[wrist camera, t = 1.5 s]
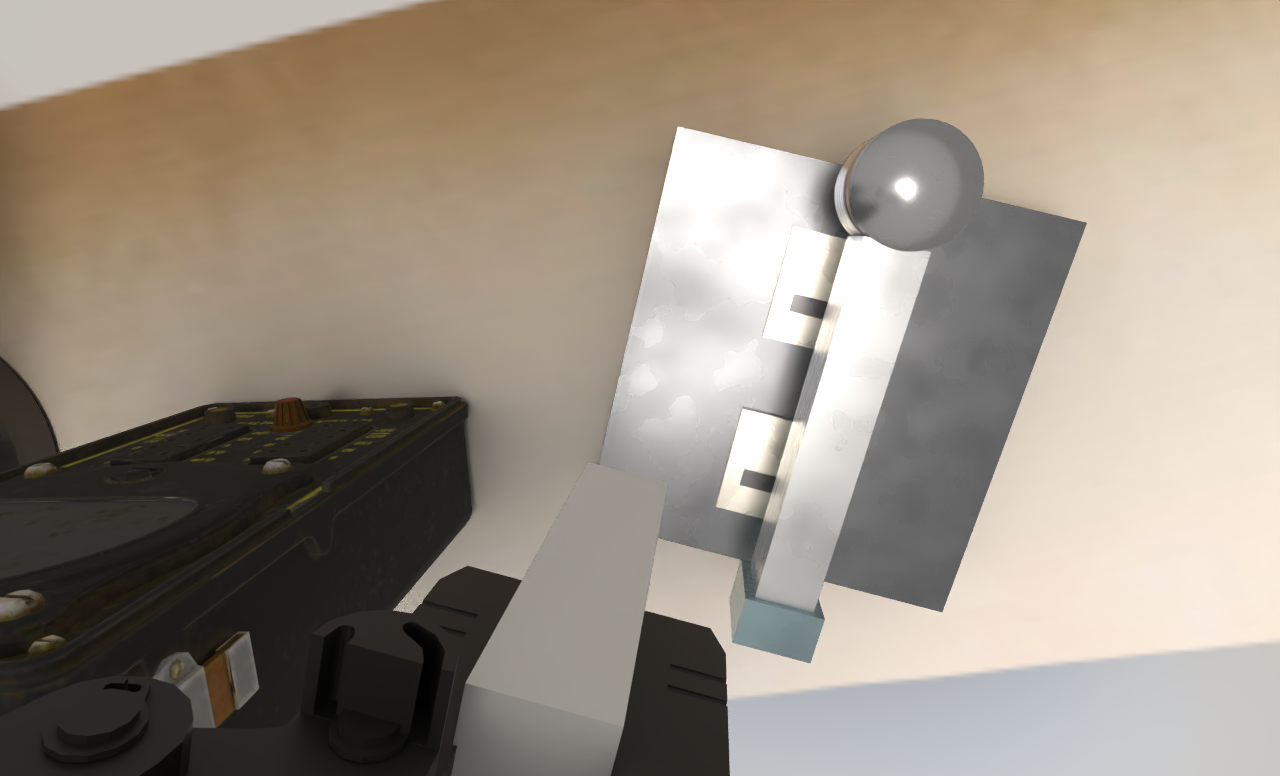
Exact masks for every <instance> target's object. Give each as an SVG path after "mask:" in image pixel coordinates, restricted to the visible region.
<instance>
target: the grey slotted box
mask: <svg viewBox="0 0 1280 776" xmlns="http://www.w3.org/2000/svg"><path fill="white" fill-rule="evenodd" d="M842 166H843V165H840V164H835V163H831V162H827V161H823V160H818V159H814V158H810V157H806V156H801V155H797V154H793V153H789V152H785V151H780V150H776V149H772V148H768V147H763V146H759V145H755V144H751V143H746V142H742V141H738V140H734V139H729V138H725V137H721V136H717V135H712V134H708V133H704V132H700V131H696V130H691V129H687V128H683V127H679V126H678V128H677V132H676V137H675V141H674V145H673V150H672V154H671V158H670V162H669V167H668V171H667V175H666V179H665V184H664V188H663V192H662V196H661V201H660V205H659V209H658V214H657V218H656V222H655V226H654V231H653V235H652V239H651V243H650V248H649V252H648V256H647V260H646V265H645V269H644V273H643V277H642V282H641V286H640V290H639V295H638V299H637V303H636V307H635V312H634V316H633V320H632V324H631V329H630V333H629V337H628V341H627V346H626V350H625V354H624V359H623V363H622V367H621V371H620V376H619V380H618V384H617V388H616V393H615V397H614V401H613V405H612V410H611V414H610V418H609V423H608V427H607V431H606V435H605V440H604V444H603V448H602V452H601V457H600V461H599V465H602V466H606V467H610V468H614V469H617V470H621V471H625V472H629V473H633V474H637V475H641V476H644V477H648V478H652V479H656V480H660V481H664V482H667V489H666V494H665V500H664V506H663V511H662V517H661V522H660V528H659V533H658V538H660V539H664V540H668V541H672V542H676V543H679V544H683V545H687V546H691V547H695V548H698V549H702V550H706V551H710V552H714V553H718V554H721V555H725V556H729V557H733V558H737V559H741V558H742V559H746V560H749V561H751V560H752V557H753V554H754V550H755V547H756V543H757V540H758V537H759V533H760V530H761V527H762V523H763V520H764V516H765V513H766V510H767V506H768V503H769V500H770V496H771V493H772V490H773V486H774V483H775V479H776V476H777V473H778V469H779V466H780V463H781V459H782V456H783V452H784V449H785V446H786V442H787V439H788V436H789V432H790V429H791V426H792V422H793V419H794V415H795V412H796V409H797V405H798V402H799V399H800V395H801V392H802V388H803V385H804V382H805V378H806V375H807V372H808V368H809V365H810V361H811V358H812V355H813V351H814V348H815V345H816V341H817V338H818V335H819V331H820V328H821V324H822V321H823V318H824V314H825V311H826V308H827V304H828V301H829V297H830V294H831V291H832V287H833V284H834V281H835V277H836V274H837V271H838V267H839V264H840V260H841V257H842V254H843V250H844V247H845V244H846V240H847V237H848V236H851V235H850V234H849V233H848V232H847V231H846V229H845V228H844V227H843V225H842V223H841V222H840V219H839V217H838V214H837V211H836V207H835V198H834V193H835V185H836V180H837V177H838V174H839V172H840V170H841V168H842ZM1086 224H1087V223H1086V222H1081V221H1077V220H1073V219H1069V218H1064V217H1060V216H1056V215H1052V214H1047V213H1043V212H1039V211H1035V210H1030V209H1026V208H1022V207H1018V206H1013V205H1009V204H1005V203H1001V202H997V201H992V200H988V199H984V198H981V201H980V203H979V206H978V208H977V210H976V212H975V214H974V216H973V218H972V219H971V220H970V222H969V223H968V224H967V226H966V227H965V228H964V229H963V230H962V231H961V232H960V233H959V234H957V235H956V236H955V237H954V238H952V239H951V240H949V241H948V242H946V243H944V244H942V245H940V246H938V247H935V248H932V249H928V250H924V251H928V252H931V253H930V257H929V260H928V263H927V266H926V269H925V272H924V275H923V278H922V281H921V284H920V287H919V290H918V293H917V297H916V300H915V303H914V306H913V309H912V312H911V315H910V318H909V321H908V324H907V327H906V330H905V333H904V337H903V340H902V343H901V346H900V349H899V352H898V355H897V358H896V361H895V364H894V367H893V370H892V373H891V377H890V380H889V383H888V386H887V389H886V392H885V395H884V398H883V401H882V404H881V407H880V410H879V413H878V417H877V420H876V423H875V426H874V429H873V432H872V435H871V438H870V441H869V444H868V447H867V450H866V453H865V457H864V460H863V463H862V466H861V469H860V472H859V475H858V478H857V481H856V484H855V487H854V490H853V493H852V497H851V500H850V503H849V506H848V509H847V512H846V515H845V518H844V521H843V524H842V527H841V530H840V533H839V537H838V540H837V543H836V546H835V549H834V552H833V555H832V558H831V561H830V564H829V567H828V570H827V573H826V577H825V580H824V581H825V582H828V583H832V584H836V585H840V586H844V587H848V588H851V589H855V590H859V591H863V592H867V593H870V594H874V595H878V596H882V597H886V598H890V599H893V600H897V601H901V602H905V603H909V604H913V605H916V606H920V607H924V608H928V609H932V610H935V611H939V612H942V611H943V609H944V606H945V603H946V601H947V598H948V595H949V593H950V590H951V587H952V585H953V582H954V579H955V576H956V574H957V571H958V568H959V566H960V563H961V560H962V558H963V555H964V552H965V550H966V547H967V544H968V541H969V539H970V536H971V533H972V531H973V528H974V525H975V523H976V520H977V517H978V515H979V512H980V509H981V506H982V504H983V501H984V498H985V496H986V493H987V490H988V488H989V485H990V482H991V480H992V477H993V474H994V471H995V469H996V466H997V463H998V461H999V458H1000V455H1001V453H1002V450H1003V447H1004V445H1005V442H1006V439H1007V436H1008V434H1009V431H1010V428H1011V426H1012V423H1013V420H1014V418H1015V415H1016V412H1017V410H1018V407H1019V404H1020V401H1021V399H1022V396H1023V393H1024V391H1025V388H1026V385H1027V383H1028V380H1029V377H1030V375H1031V372H1032V369H1033V366H1034V364H1035V361H1036V358H1037V356H1038V353H1039V350H1040V348H1041V345H1042V342H1043V340H1044V337H1045V334H1046V332H1047V329H1048V326H1049V323H1050V321H1051V318H1052V315H1053V313H1054V310H1055V307H1056V305H1057V302H1058V299H1059V297H1060V294H1061V291H1062V288H1063V286H1064V283H1065V280H1066V278H1067V275H1068V272H1069V270H1070V267H1071V264H1072V262H1073V259H1074V256H1075V253H1076V251H1077V248H1078V245H1079V243H1080V240H1081V237H1082V235H1083V232H1084V229H1085V227H1086Z"/></svg>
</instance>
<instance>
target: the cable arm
mask: <svg viewBox="0 0 1280 776" xmlns="http://www.w3.org/2000/svg"><path fill="white" fill-rule="evenodd" d="M983 186H984V173H983V166H982V162H981V159H980V156H979V154H978V152H977V150H976V148H975V146H974V145H973V143H972V142H971V141H970V140H969V138H968V137H967V136H966V135H965V134H963V133H962V132H961V131H960V130H958V129H957V128H955V127H954V126H952V125H950V124H947V123H945V122H942V121H939V120H933V119H913V120H908V121H904V122H901V123H898V124H896V125H894V126H892V127H890V128H888V129H886V130H885V131H883V132H881V133H880V134H878V135H876V136H875V137H873V138H871V139H870V140H868V141H867V142H865V143H863V144H862V145H861V146H859V147H858V148H857V149H856V150H855V151H854V152H852V154H851V155H850V156H849V157H848V158H847V160H846V161H845V163H844V164H843V166H842V168H841V170H840V172H839V174H838V177H837V180H836V185H835V193H834V198H835V207H836V211H837V214H838V217H839V219H840V222H841V223H842V225H843V227H844V228H845V229H846V231H847V232H848V233H849V234H850V235H851V236H848V237H847V240H846V244H845V247H844V250H843V254H842V257H841V260H840V264H839V267H838V271H837V274H836V277H835V281H834V284H833V287H832V291H831V294H830V297H829V301H828V304H827V308H826V311H825V314H824V318H823V321H822V324H821V328H820V331H819V335H818V338H817V341H816V345H815V348H814V351H813V355H812V358H811V361H810V365H809V368H808V372H807V375H806V378H805V382H804V385H803V388H802V392H801V395H800V399H799V402H798V405H797V409H796V412H795V415H794V419H793V422H792V426H791V429H790V432H789V436H788V439H787V442H786V446H785V449H784V452H783V456H782V459H781V463H780V466H779V469H778V473H777V476H776V479H775V483H774V486H773V490H772V493H771V496H770V500H769V503H768V506H767V510H766V513H765V516H764V520H763V523H762V527H761V530H760V533H759V537H758V540H757V543H756V547H755V550H754V554H753V557H752V560H751V561H749V560H746V559H742V558H741V561H740V565H739V568H738V571H737V575H736V578H735V582H734V585H733V589H732V592H731V595H730V611H731V628H732V643H736V644H740V645H744V646H747V647H751V648H755V649H759V650H762V651H766V652H770V653H774V654H777V655H781V656H785V657H789V658H792V659H796V660H800V661H804V662H807V663H811V660H812V657H813V654H814V650H815V647H816V644H817V641H818V638H819V635H820V632H821V629H822V626H823V623H824V620H825V619H824V616H823V612H822V609H821V606H820V603H819V599H818V598H819V595H820V592H821V589H822V586H823V583H824V580H825V577H826V573H827V570H828V567H829V564H830V561H831V558H832V555H833V552H834V549H835V546H836V543H837V540H838V537H839V533H840V530H841V527H842V524H843V521H844V518H845V515H846V512H847V509H848V506H849V503H850V500H851V497H852V493H853V490H854V487H855V484H856V481H857V478H858V475H859V472H860V469H861V466H862V463H863V460H864V457H865V453H866V450H867V447H868V444H869V441H870V438H871V435H872V432H873V429H874V426H875V423H876V420H877V417H878V413H879V410H880V407H881V404H882V401H883V398H884V395H885V392H886V389H887V386H888V383H889V380H890V377H891V373H892V370H893V367H894V364H895V361H896V358H897V355H898V352H899V349H900V346H901V343H902V340H903V337H904V333H905V330H906V327H907V324H908V321H909V318H910V315H911V312H912V309H913V306H914V303H915V300H916V297H917V293H918V290H919V287H920V284H921V281H922V278H923V275H924V272H925V269H926V266H927V263H928V260H929V257H930V253H931V252H928V251H924V250H928V249H932V248H935V247H938V246H940V245H942V244H944V243H946V242H948V241H949V240H951V239H952V238H954V237H955V236H956V235H957V234H959V233H960V232H961V231H962V230H963V229H964V228H965V227H966V226H967V224H968V223H969V222H970V220H971V219H972V218H973V216H974V214H975V212H976V210H977V208H978V206H979V203H980V201H981V197H982V193H983Z"/></svg>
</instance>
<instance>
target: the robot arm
mask: <svg viewBox="0 0 1280 776" xmlns="http://www.w3.org/2000/svg"><path fill="white" fill-rule="evenodd" d="M55 454H57V453H56V448H55V445H54V441H53V438H52V435H51V432H50V429H49V427H48V424H47V422H46V420H45V418H44V416H43V414H42V412H41V410H40V408H39V406H38V404H37V403H36V401H35V399H34V398H33V396H32V395H31V393H30V392H29V391H28V389H27V388H26V387H25V385H24V384H23V383H22V382H21V380H20V379H19V378H18V377H17V376H16V375H15V374H14V373H13V372H12V371H11V370H10V368H8V367H7V366H6V365H5V364H4V363H3V362H2V361H1V360H0V472H3V471H6V470H9V469H12V468H15V467H18V466H21V465H24V464H27V463H30V462H33V461H36V460H40V459H43V458H46V457H49V456H52V455H55ZM666 489H667V482H664V481H660V480H656V479H652V478H648V477H644V476H641V475H637V474H633V473H629V472H625V471H621V470H617V469H614V468H610V467H606V466H602V465H598V464H594V463H590V462H587V464H586V466H585V468H584V470H583V471H582V473H581V475H580V477H579V479H578V481H577V482H576V484H575V486H574V488H573V490H572V491H571V493H570V495H569V497H568V499H567V500H566V502H565V504H564V506H563V508H562V509H561V511H560V513H559V515H558V517H557V518H556V520H555V522H554V524H553V526H552V527H551V529H550V531H549V533H548V535H547V536H546V538H545V540H544V542H543V544H542V546H541V547H540V549H539V551H538V553H537V555H536V556H535V558H534V560H533V562H532V564H531V565H530V567H529V569H528V571H527V573H526V574H525V576H524V578H523V580H518V579H515V578H511V577H507V576H503V575H500V574H496V573H492V572H489V571H485V570H481V569H477V568H474V567H470V566H466V567H464V568H462V569H460V570H458V571H456V572H454V573H452V574H450V575H448V576H446V577H444V578H441V579H440V580H439V581H438V582H437V583H436V585H435V586H434V587H433V588H432V590H431V591H430V592H429V593H428V595H427V596H426V597H425V598H424V600H423V603H422V604H420V605H419V606H418V607H417V609H416V610H415V611H414V612H413V614H412V613H405V612H398V611H392V610H374V611H360V612H355V613H352V614H349V615H345V616H342V617H339V618H335V619H332V620H331V621H329V622H328V623H326V624H325V625H323V626H322V627H320V628H319V629H317V630H316V631H314V632H313V633H311V640H310V647H309V654H308V661H307V668H306V675H305V682H304V689H303V696H302V703H301V710H300V713H299V714H298V715H297V716H296V718H295V719H294V720H293V721H292V722H291V723H290V724H288V725H283V726H279V727H269V728H253V729H246V728H193V720H194V718H193V712H192V706H191V700H190V699H189V698H188V697H187V696H186V695H185V694H184V693H183V692H182V691H181V690H180V689H179V688H177V687H176V686H175V685H173V684H170V683H167V682H164V681H161V680H157V679H154V678H151V677H140V676H112V677H106V678H100V679H94V680H88V681H83V682H78V683H76V684H73V685H70V686H68V687H65V688H62V689H60V690H57V691H54V692H52V693H49V694H46V695H44V696H42V697H40V698H38V699H36V700H34V701H32V702H30V703H28V704H26V705H24V706H21V707H19V708H17V709H15V710H13V711H11V712H9V713H7V714H5V715H3V716H1V717H0V776H730V771H729V739H728V710H727V706H726V704H727V684H726V653H725V652H724V650H723V648H722V647H721V645H720V643H719V642H718V640H717V638H716V637H715V635H714V634H713V632H712V630H711V629H710V628H707V627H704V626H700V625H696V624H692V623H689V622H685V621H681V620H677V619H674V618H670V617H666V616H663V615H659V614H655V613H651V612H648V611H645V605H646V600H647V594H648V589H649V583H650V578H651V572H652V567H653V561H654V555H655V550H656V544H657V539H658V533H659V528H660V522H661V517H662V511H663V506H664V500H665V494H666Z"/></svg>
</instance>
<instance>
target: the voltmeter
mask: <svg viewBox="0 0 1280 776" xmlns="http://www.w3.org/2000/svg"><path fill="white" fill-rule="evenodd" d="M466 418H468V410H467V403H466V402H461V399H460V398H459V397H432V398H396V399H359V400H323V401H301V399H299V398H286V399H281V400H278V401H277V402H251V403H216V404H209V405H204V406H199V407H196V408H193V409H190V410H187V411H184V412H181V413H178V414H175V415H172V416H169V417H166V418H163V419H160V420H157V421H154V422H151V423H148V424H145V425H142V426H139V427H136V428H133V429H130V430H127V431H124V432H121V433H118V434H115V435H112V436H109V437H106V438H103V439H100V440H97V441H94V442H91V443H88V444H85V445H82V446H79V447H76V448H73V449H70V450H67V451H64V452H61V453H58V454H55V455H52V456H49V457H46V458H43V459H40V460H36V461H33V462H30V463H27V464H24V465H21V466H18V467H15V468H12V469H9V470H6V471H3V472H0V717H1V716H3V715H5V714H7V713H9V712H11V711H13V710H15V709H17V708H19V707H21V706H24V705H26V704H28V703H30V702H32V701H34V700H36V699H38V698H40V697H42V696H44V695H46V694H49V693H52V692H54V691H57V690H60V689H62V688H65V687H68V686H70V685H73V684H76V683H78V682H83V681H88V680H94V679H100V678H106V677H112V676H140V677H151V678H154V679H157V680H161V681H164V682H167V683H170V684H173V685H175V686H176V687H177V688H179V689H180V690H181V691H182V692H183V693H184V694H185V695H186V696H187V697H188V698H189V699H190V700H191V706H192V712H193V718H194V720H193V728H246V729H253V728H269V727H279V726H283V725H288V724H290V723H291V722H292V721H293V720H294V719H295V718H296V716H297V715H298V714H299V713H300V710H301V703H302V696H303V689H304V682H305V675H306V668H307V661H308V654H309V647H310V640H311V633H313V632H314V631H316V630H317V629H319V628H320V627H322V626H323V625H325V624H326V623H328V622H329V621H331V620H332V619H335V618H339V617H342V616H345V615H349V614H352V613H355V612H360V611H374V610H392V611H393V610H394V608H395V607H396V606H397V605H398V604H399V602H400V601H401V600H402V599H403V598H404V597H405V595H406V594H407V593H408V592H409V591H410V590H411V588H412V587H413V586H414V585H415V584H416V582H417V581H418V580H419V579H420V578H421V577H422V575H423V574H424V573H425V572H426V571H427V569H428V568H429V567H430V566H431V565H432V564H433V562H434V561H435V560H436V559H437V558H438V557H439V555H440V554H441V553H442V552H443V551H444V549H445V548H446V547H447V546H448V545H449V544H450V542H451V541H452V540H453V539H454V538H455V536H456V535H457V534H458V533H459V532H460V531H461V529H462V528H463V527H464V526H465V525H466V523H467V522H468V520H469V519H470V516H471V513H472V506H471V496H470V486H469V477H468V467H467V457H466V448H465V438H464V428H463V421H464V420H465V419H466Z"/></svg>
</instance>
